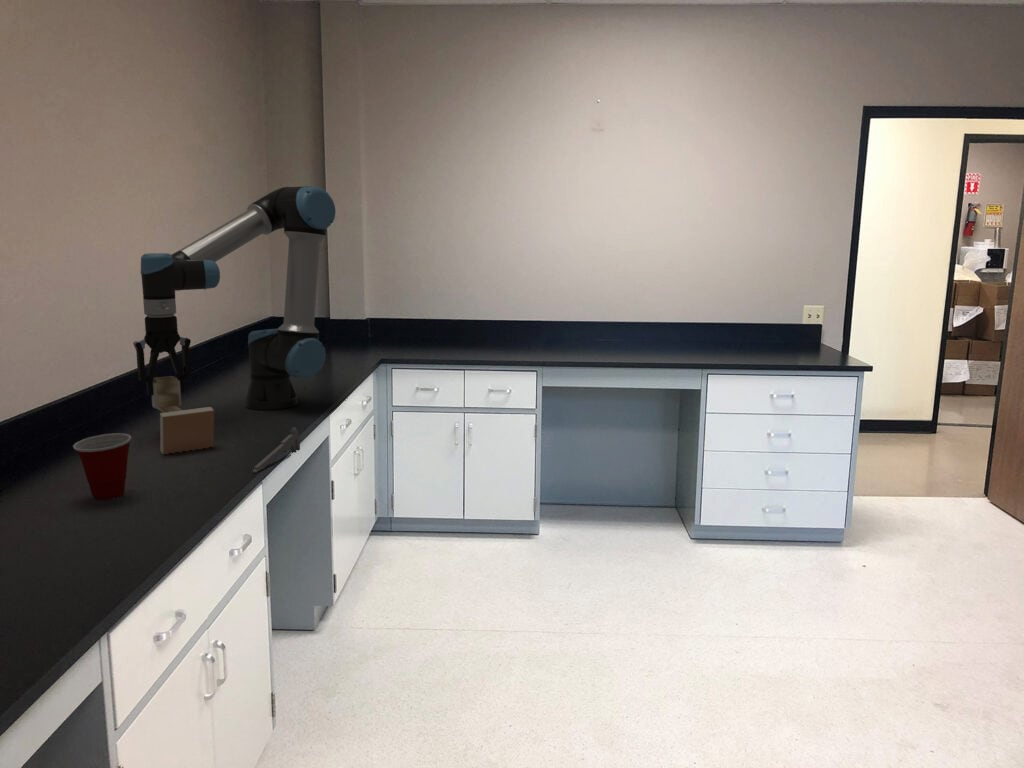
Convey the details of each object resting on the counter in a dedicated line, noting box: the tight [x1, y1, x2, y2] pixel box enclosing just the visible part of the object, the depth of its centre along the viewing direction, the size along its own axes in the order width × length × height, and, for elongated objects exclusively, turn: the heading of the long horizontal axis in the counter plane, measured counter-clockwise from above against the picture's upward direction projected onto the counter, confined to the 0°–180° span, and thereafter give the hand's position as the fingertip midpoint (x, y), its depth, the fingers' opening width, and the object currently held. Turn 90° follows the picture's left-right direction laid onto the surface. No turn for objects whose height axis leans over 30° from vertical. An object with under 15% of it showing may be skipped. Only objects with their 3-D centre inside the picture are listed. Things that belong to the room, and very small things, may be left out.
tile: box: [159, 406, 215, 455], centre depth 208 cm, size 12×2×10 cm, turn 127°
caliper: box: [252, 427, 301, 473], centre depth 201 cm, size 20×1×6 cm, turn 165°
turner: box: [153, 375, 183, 413], centre depth 216 cm, size 8×23×8 cm, turn 37°
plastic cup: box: [72, 432, 132, 501], centre depth 174 cm, size 11×11×12 cm
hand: (166, 405), depth 220 cm, fingers closed on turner, 5 cm apart
